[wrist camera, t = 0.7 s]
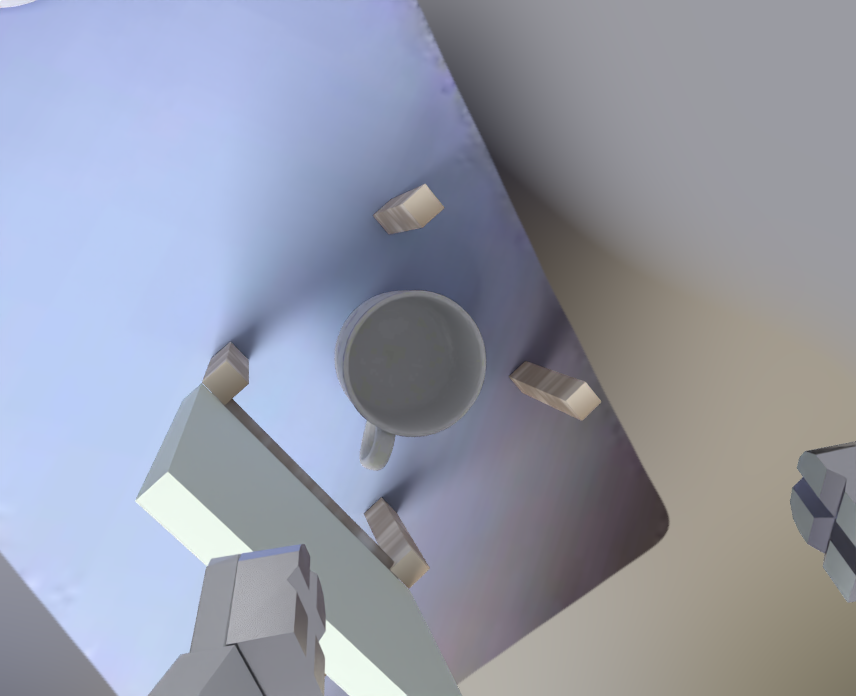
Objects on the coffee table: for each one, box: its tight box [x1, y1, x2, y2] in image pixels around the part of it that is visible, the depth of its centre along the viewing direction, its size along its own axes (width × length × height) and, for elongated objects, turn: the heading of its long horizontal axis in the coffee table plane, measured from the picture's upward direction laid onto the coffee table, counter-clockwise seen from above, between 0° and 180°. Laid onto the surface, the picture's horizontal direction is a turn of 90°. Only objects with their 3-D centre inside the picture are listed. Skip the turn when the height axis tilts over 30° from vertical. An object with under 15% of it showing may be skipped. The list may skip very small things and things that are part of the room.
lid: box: [135, 383, 462, 696], centre depth 36 cm, size 20×19×3 cm
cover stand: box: [202, 184, 601, 588], centre depth 52 cm, size 20×20×11 cm
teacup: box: [335, 290, 486, 470], centre depth 54 cm, size 14×11×8 cm
